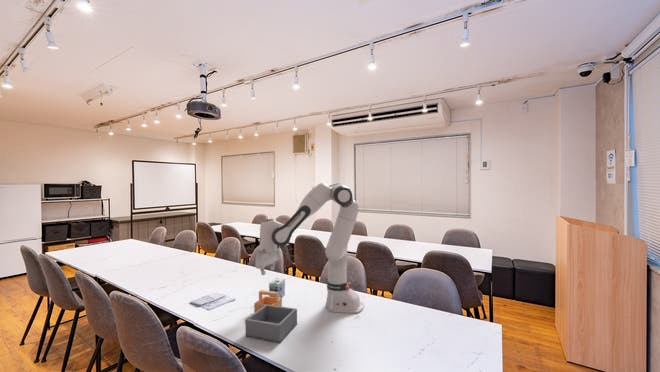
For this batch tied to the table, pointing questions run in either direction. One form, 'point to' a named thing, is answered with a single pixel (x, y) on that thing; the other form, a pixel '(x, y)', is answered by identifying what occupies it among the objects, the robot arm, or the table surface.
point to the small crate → (267, 300)
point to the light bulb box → (277, 287)
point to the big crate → (271, 323)
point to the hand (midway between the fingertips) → (267, 272)
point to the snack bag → (206, 300)
